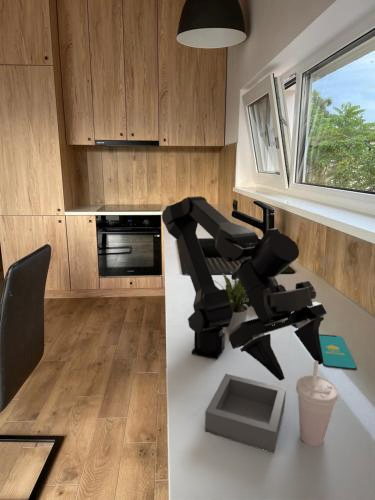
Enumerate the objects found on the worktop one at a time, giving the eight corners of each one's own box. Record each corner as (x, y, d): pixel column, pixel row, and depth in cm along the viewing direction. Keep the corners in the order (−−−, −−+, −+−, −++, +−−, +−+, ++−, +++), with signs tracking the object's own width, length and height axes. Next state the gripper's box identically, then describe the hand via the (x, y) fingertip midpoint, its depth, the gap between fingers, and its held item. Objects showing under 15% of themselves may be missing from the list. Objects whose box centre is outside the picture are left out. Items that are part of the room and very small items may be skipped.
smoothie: (300, 418, 62) (307, 347, 58) (337, 435, 58) (347, 361, 55) (285, 439, 57) (292, 364, 54) (324, 460, 53) (334, 380, 50)
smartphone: (323, 364, 78) (313, 332, 92) (323, 367, 78) (312, 335, 92) (358, 368, 76) (342, 336, 91) (357, 372, 76) (341, 338, 91)
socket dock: (205, 431, 59) (205, 411, 58) (225, 391, 69) (225, 373, 68) (274, 453, 54) (276, 432, 53) (284, 406, 65) (286, 388, 64)
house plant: (273, 326, 97) (277, 270, 93) (253, 347, 86) (256, 285, 81) (228, 313, 104) (229, 261, 100) (203, 331, 93) (204, 274, 89)
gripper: (242, 276, 53) (290, 375, 47) (323, 259, 63) (373, 341, 56) (212, 305, 62) (250, 393, 55) (287, 287, 71) (327, 361, 64)
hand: (302, 371), depth 58 cm, fingers open, 9 cm apart
